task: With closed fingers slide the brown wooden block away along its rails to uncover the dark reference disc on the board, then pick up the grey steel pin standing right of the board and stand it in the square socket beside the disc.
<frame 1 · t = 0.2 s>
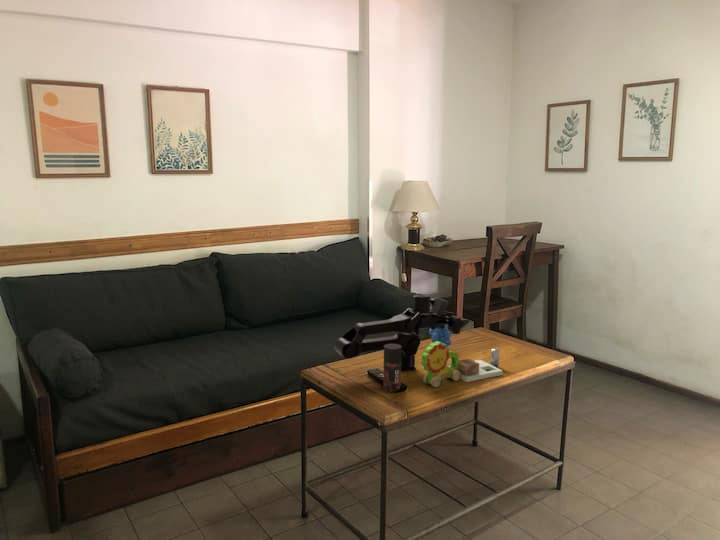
hand: (461, 317, 226), 16 cm above the table, tool horizontal, fingers open, 9 cm apart
grapes: (438, 349, 240), on the table
brown wooden block: (467, 366, 208), point 4 cm above the table, slide at 0.0 cm
board: (473, 372, 213), on the table
toy lion: (439, 383, 204), on the table
deodorant: (391, 389, 198), on the table
pin: (494, 367, 219), on the table
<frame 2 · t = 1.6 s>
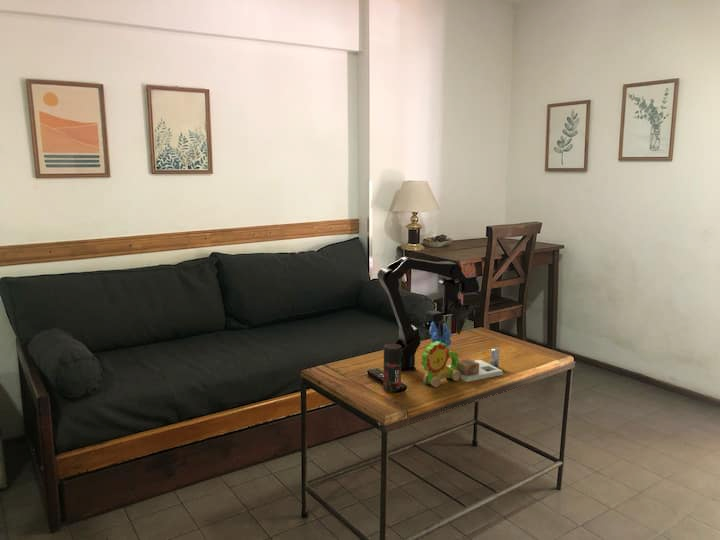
hand: (449, 335, 221), 11 cm above the table, tool pointing down, fingers open, 8 cm apart
nothing on the table moved.
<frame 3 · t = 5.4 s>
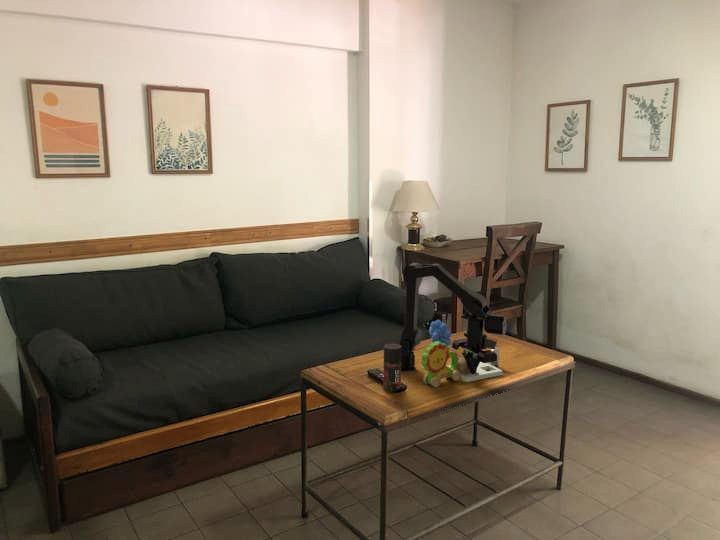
hand: (472, 373, 205), 2 cm above the table, tool pointing down, fingers closed
brown wooden block: (465, 365, 209), point 4 cm above the table, slide at 1.3 cm, touching gripper
everything else where it was.
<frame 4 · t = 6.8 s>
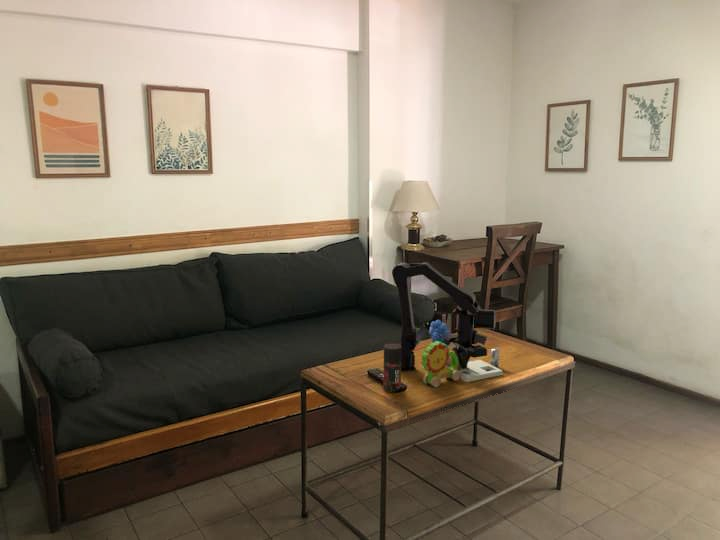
hand: (463, 368, 210), 3 cm above the table, tool pointing down, fingers closed
brown wooden block: (455, 361, 214), point 4 cm above the table, slide at 6.7 cm, touching gripper
everything else where it was.
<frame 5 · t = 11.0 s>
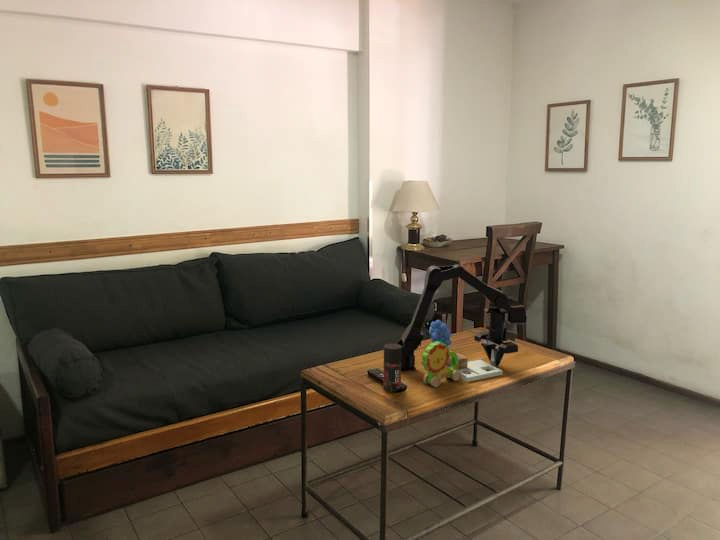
hand: (494, 364, 219), 1 cm above the table, tool pointing down, fingers closed on pin, 3 cm apart
brown wooden block: (455, 361, 214), point 4 cm above the table, slide at 6.7 cm
pin: (494, 367, 219), on the table, touching gripper
everything else where it was.
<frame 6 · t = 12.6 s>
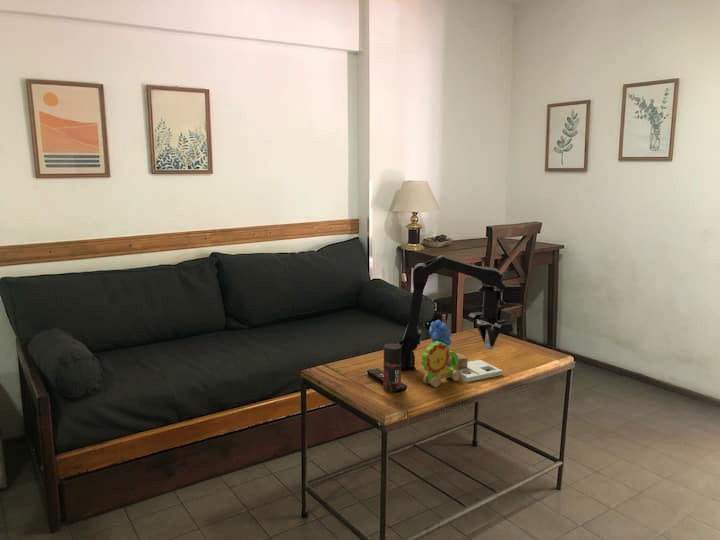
hand: (488, 345, 211), 11 cm above the table, tool pointing down, fingers closed on pin, 3 cm apart
pin: (488, 348, 212), point 9 cm above the table, touching gripper
everything else where it was.
when the fingers open (2 cm above the table, at t = 14.2 s): pin drops 1 cm, resting in board.
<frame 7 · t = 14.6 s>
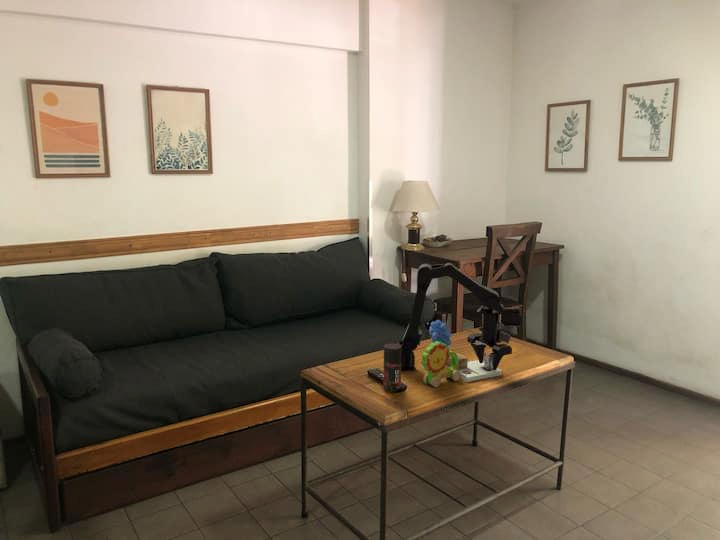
hand: (487, 366, 213), 2 cm above the table, tool pointing down, fingers open, 7 cm apart
pin: (487, 372, 213), resting in board
everything else where it was.
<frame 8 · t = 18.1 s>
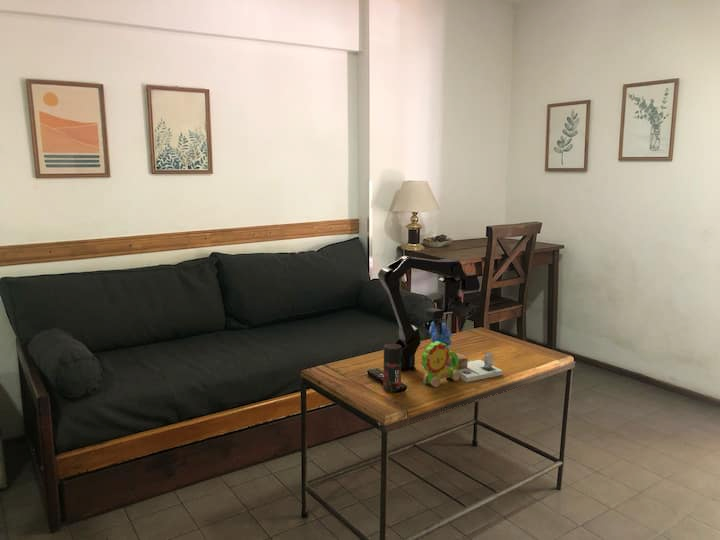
hand: (450, 333, 221), 12 cm above the table, tool pointing down, fingers open, 9 cm apart
nothing on the table moved.
at the end: brown wooden block slide at 6.7 cm; pin 0.0 cm from the target spot on the board, point 0.0 cm above the board's base; pin tilted 0° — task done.
